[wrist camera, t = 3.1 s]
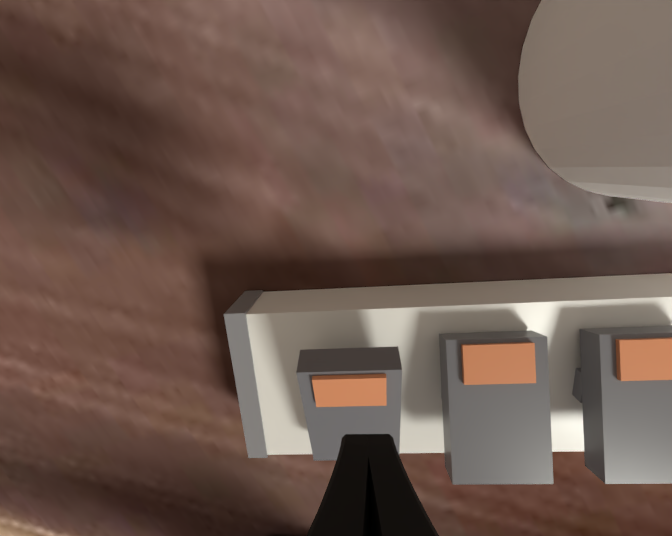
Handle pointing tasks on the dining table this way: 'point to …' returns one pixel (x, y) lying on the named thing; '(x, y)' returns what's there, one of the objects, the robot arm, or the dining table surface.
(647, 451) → the block
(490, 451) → the rocker
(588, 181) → the bottle
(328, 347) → the power strip
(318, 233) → the dining table surface
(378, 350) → the rocker
